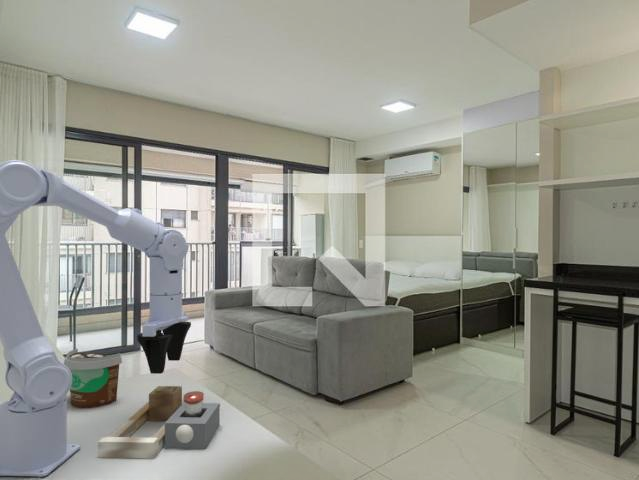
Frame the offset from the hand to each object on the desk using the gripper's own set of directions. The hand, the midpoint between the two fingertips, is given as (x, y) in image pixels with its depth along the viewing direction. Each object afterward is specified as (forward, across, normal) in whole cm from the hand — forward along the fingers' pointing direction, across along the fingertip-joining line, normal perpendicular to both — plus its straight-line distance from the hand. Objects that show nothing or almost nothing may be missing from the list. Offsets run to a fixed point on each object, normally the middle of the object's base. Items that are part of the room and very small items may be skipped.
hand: (166, 366), depth 76 cm
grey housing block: (+9, -7, -8) cm, 14 cm away
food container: (+10, +5, +19) cm, 22 cm away
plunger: (+7, -7, -8) cm, 13 cm away
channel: (+9, -5, 0) cm, 11 cm away
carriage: (+10, 0, 0) cm, 10 cm away
